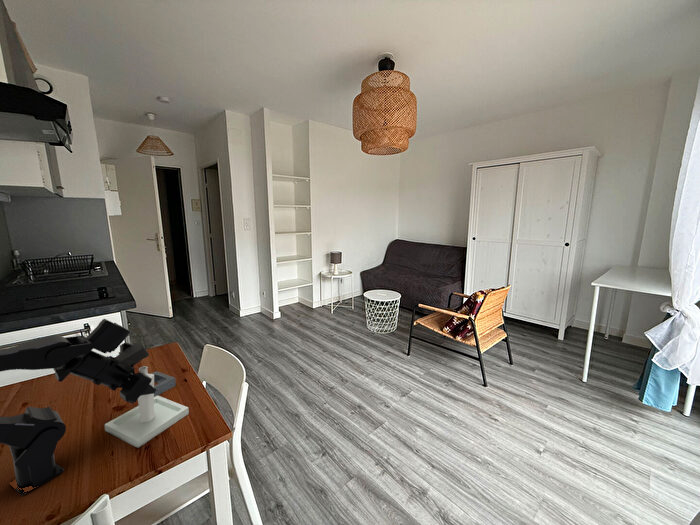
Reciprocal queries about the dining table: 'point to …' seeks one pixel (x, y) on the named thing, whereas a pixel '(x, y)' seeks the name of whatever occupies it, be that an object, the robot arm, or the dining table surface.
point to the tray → (140, 433)
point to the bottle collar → (163, 382)
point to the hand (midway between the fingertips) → (151, 388)
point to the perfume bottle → (146, 400)
